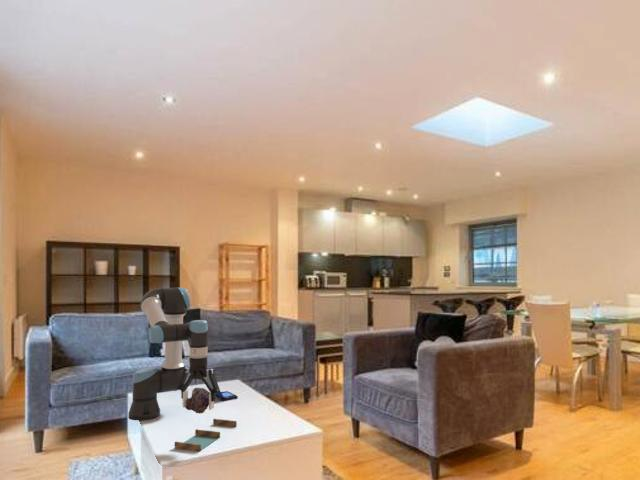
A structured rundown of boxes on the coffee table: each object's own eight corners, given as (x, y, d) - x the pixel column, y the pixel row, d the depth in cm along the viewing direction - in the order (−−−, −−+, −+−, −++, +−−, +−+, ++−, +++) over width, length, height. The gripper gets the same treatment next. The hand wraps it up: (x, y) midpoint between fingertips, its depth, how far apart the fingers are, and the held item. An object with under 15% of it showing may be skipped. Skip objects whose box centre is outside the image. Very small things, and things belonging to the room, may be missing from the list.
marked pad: (177, 447, 187) (177, 446, 187) (194, 436, 199) (194, 435, 199) (201, 450, 184) (201, 449, 184) (217, 439, 196) (217, 438, 196)
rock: (192, 418, 185) (215, 413, 191) (193, 398, 184) (216, 393, 190) (183, 407, 194) (205, 402, 200) (183, 388, 194) (206, 384, 200)
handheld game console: (238, 398, 258) (238, 382, 259) (216, 403, 250) (216, 386, 251) (227, 393, 271) (227, 377, 272) (205, 396, 263) (206, 380, 264)
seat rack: (174, 448, 186) (174, 442, 186) (214, 424, 215) (214, 418, 215) (199, 451, 182) (199, 445, 182) (236, 426, 211) (236, 421, 211)
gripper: (169, 357, 194) (168, 408, 193) (218, 359, 187) (218, 412, 185) (179, 353, 201) (179, 403, 200) (228, 356, 194) (227, 407, 192)
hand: (198, 407), depth 192 cm, fingers closed on rock, 12 cm apart
